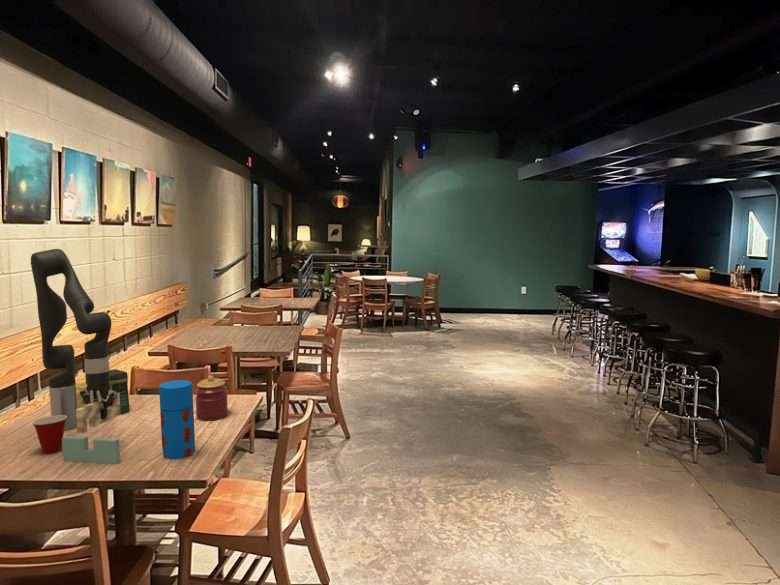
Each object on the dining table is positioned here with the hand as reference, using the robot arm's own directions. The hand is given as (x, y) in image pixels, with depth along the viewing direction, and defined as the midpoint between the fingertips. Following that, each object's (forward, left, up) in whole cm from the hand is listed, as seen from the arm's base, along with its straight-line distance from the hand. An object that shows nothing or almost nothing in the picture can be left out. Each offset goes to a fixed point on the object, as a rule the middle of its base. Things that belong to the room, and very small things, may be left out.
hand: (100, 418), depth 199 cm
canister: (-18, +45, -13) cm, 50 cm away
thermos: (+15, +22, -13) cm, 30 cm away
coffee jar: (-48, +14, -13) cm, 52 cm away
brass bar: (0, 0, -2) cm, 2 cm away
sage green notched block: (+4, -4, -13) cm, 14 cm away
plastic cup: (-15, -14, -13) cm, 24 cm away
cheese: (-67, +4, -13) cm, 68 cm away
